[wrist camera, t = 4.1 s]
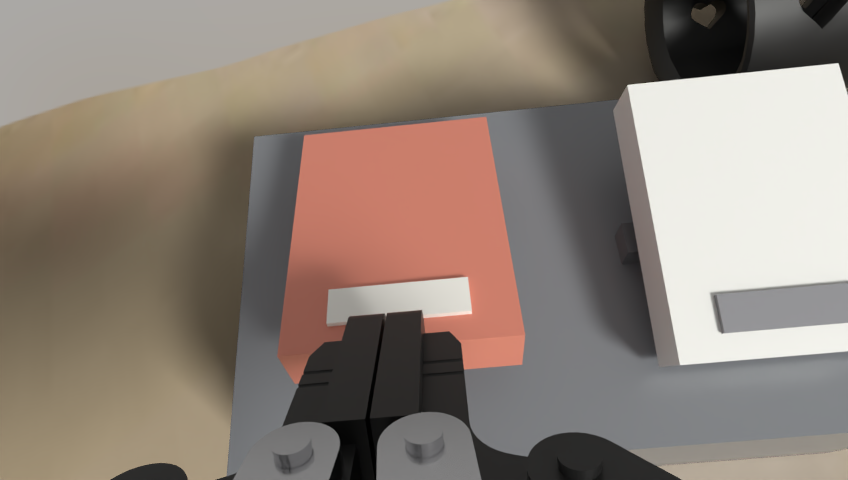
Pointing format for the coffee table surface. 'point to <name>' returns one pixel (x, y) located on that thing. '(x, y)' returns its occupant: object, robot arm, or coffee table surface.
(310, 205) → the labelled salmon box
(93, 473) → the coffee table surface
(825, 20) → the muzzle brake
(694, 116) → the white block
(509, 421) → the switch box
